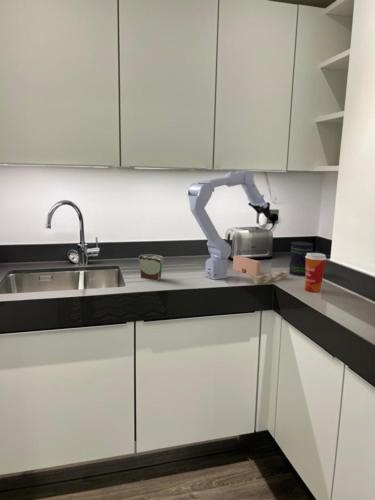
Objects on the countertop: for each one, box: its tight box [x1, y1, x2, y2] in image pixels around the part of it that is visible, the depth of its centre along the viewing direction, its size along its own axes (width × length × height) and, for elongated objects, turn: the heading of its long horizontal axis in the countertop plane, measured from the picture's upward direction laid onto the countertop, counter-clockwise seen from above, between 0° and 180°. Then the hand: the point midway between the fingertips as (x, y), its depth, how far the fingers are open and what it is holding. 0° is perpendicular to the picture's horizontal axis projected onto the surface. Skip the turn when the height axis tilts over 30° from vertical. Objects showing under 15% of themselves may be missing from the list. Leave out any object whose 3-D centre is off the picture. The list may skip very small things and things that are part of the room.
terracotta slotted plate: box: [232, 255, 261, 277], centre depth 178 cm, size 16×2×7 cm, turn 35°
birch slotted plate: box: [252, 270, 289, 285], centre depth 166 cm, size 20×2×3 cm, turn 125°
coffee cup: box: [304, 252, 327, 294], centre depth 152 cm, size 8×8×15 cm
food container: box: [138, 253, 165, 282], centre depth 164 cm, size 12×6×10 cm, turn 59°
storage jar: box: [288, 240, 314, 277], centre depth 179 cm, size 10×10×15 cm
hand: (264, 214), depth 180 cm, fingers open, 7 cm apart
